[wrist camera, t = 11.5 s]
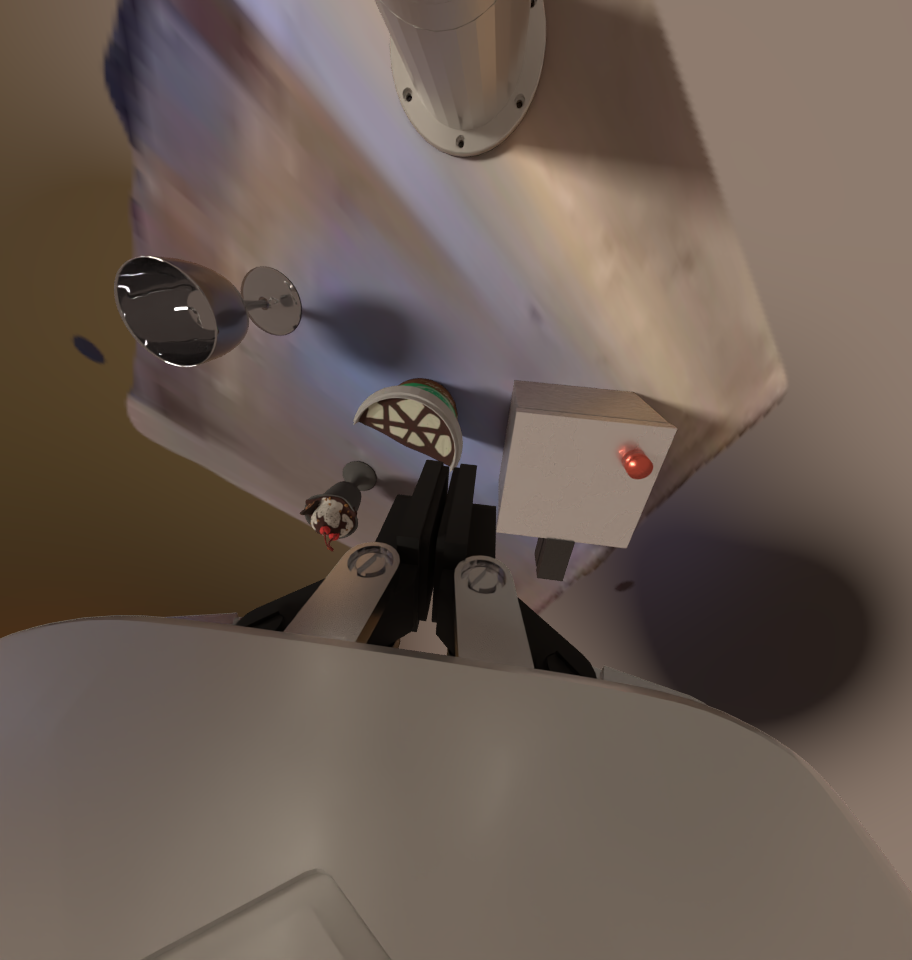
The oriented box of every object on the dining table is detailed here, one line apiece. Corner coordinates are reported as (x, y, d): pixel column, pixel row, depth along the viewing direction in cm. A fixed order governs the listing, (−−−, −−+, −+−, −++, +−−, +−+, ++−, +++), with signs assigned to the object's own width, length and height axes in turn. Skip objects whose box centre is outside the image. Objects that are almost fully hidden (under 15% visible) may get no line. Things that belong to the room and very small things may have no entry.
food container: (485, 397, 44) (482, 427, 35) (463, 437, 47) (454, 474, 38) (394, 349, 42) (367, 368, 33) (377, 393, 45) (348, 422, 36)
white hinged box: (514, 380, 42) (518, 407, 34) (633, 392, 41) (668, 422, 33) (493, 515, 52) (491, 562, 44) (588, 526, 52) (606, 577, 43)
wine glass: (306, 275, 39) (211, 275, 26) (303, 347, 43) (218, 379, 30) (235, 252, 38) (102, 240, 26) (238, 327, 43) (125, 350, 30)
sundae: (387, 493, 52) (350, 564, 40) (345, 496, 54) (296, 567, 41) (375, 453, 49) (332, 517, 36) (331, 457, 50) (273, 520, 37)
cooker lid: (516, 407, 33) (517, 418, 31) (671, 423, 33) (686, 436, 30) (490, 563, 44) (489, 581, 41) (607, 578, 43) (614, 598, 40)
